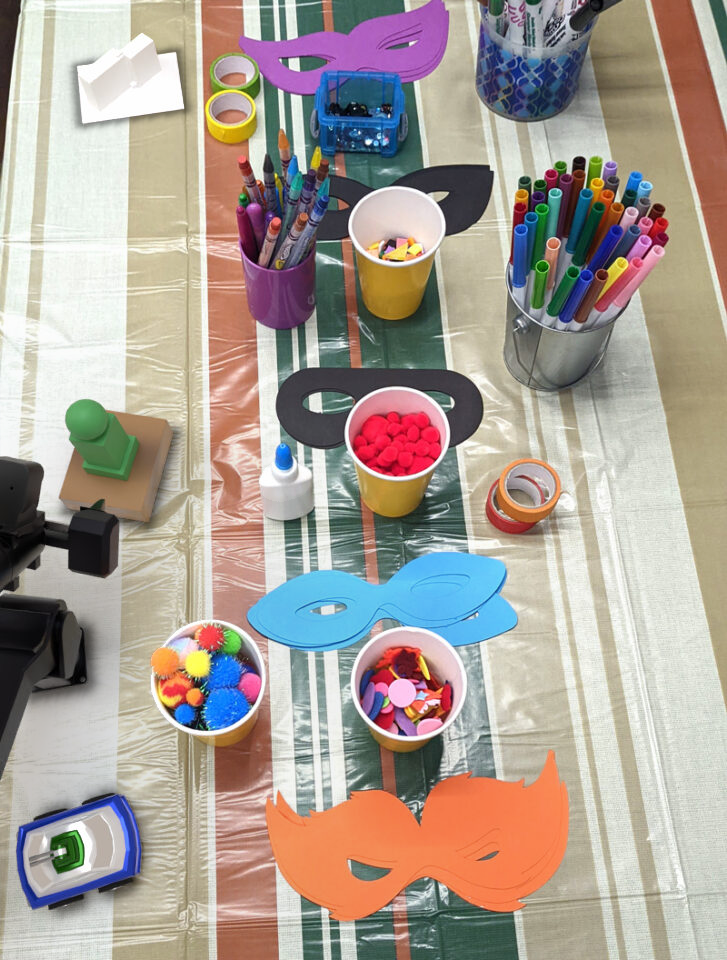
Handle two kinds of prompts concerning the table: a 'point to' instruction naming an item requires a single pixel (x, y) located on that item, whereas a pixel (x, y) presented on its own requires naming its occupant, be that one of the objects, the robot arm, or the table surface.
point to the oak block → (143, 479)
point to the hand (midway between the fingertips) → (61, 494)
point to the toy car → (78, 851)
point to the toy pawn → (100, 440)
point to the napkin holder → (130, 83)
